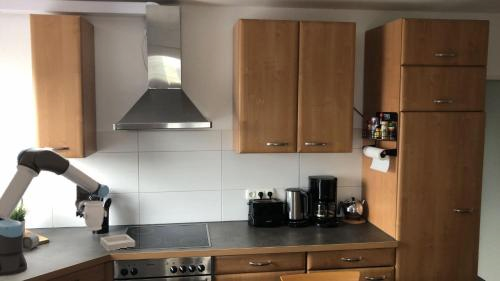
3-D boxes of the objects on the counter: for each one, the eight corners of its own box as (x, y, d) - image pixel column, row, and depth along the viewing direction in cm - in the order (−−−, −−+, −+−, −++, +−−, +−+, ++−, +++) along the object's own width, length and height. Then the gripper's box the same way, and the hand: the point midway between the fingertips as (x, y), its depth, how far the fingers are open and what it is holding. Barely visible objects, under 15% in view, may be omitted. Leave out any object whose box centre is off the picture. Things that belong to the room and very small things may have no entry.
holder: (107, 251, 241) (107, 245, 240) (100, 243, 254) (100, 237, 254) (135, 247, 249) (135, 241, 249) (126, 239, 263) (126, 234, 262)
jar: (107, 228, 245) (108, 201, 244) (94, 232, 236) (94, 205, 235) (93, 225, 250) (93, 199, 249) (79, 229, 240) (79, 203, 239)
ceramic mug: (40, 246, 247) (40, 232, 246) (32, 250, 239) (32, 236, 238) (22, 245, 247) (21, 232, 247) (13, 250, 239) (13, 236, 238)
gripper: (106, 212, 264) (116, 219, 245) (65, 215, 251) (73, 224, 233) (106, 199, 263) (116, 206, 245) (66, 203, 251) (73, 210, 232)
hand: (95, 215), depth 239 cm, fingers closed on jar, 10 cm apart
